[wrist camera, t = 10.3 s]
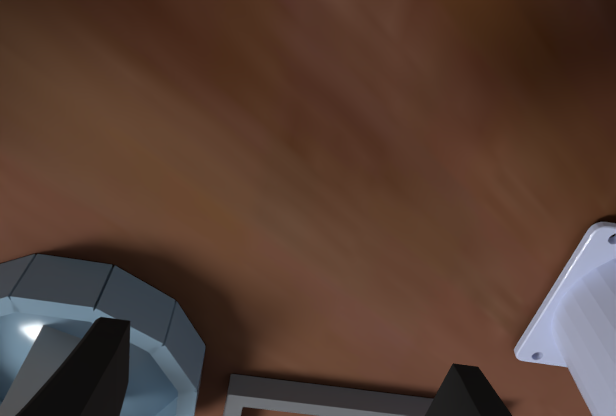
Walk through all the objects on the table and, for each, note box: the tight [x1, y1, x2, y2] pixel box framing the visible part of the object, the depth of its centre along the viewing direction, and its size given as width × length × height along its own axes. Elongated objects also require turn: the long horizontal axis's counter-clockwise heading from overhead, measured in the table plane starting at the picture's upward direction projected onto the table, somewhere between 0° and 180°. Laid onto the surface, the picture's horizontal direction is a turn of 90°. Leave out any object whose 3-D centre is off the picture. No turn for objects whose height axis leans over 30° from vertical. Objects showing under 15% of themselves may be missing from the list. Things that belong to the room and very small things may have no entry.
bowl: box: [0, 254, 206, 416], centre depth 24 cm, size 12×12×2 cm
